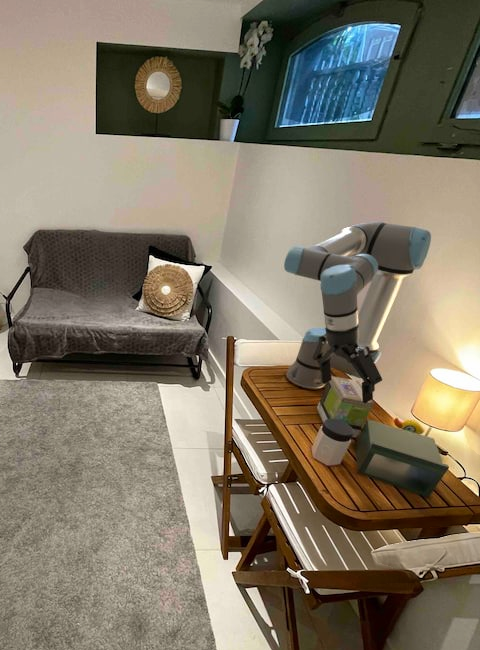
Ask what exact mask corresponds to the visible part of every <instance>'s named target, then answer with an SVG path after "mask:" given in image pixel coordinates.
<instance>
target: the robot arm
mask: <svg viewBox="0 0 480 650" xmlns="http://www.w3.org/2000/svg"><path fill="white" fill-rule="evenodd" d="M431 241H432V234H431V232H430V231H429V230H427V229H424V228H420V227H416V226H410V225H409V226H408V225H402V224H394V223H386V222H383V221H381V222H380V221H370V222H369V221H367V222H361V223H357V224H352V225H350V226H346V227H345V228H342V229H341V230H340V231H338V232H337V234H335V236H332V237H329V238H328V239H326V240H323V241H321V242H319V243H317V244H315V245H313V246H310V247H305V246H298V245H295V246H292V247H291V248H290V250H288V252H287V254H286V256H285V259H284V263H283V268H284V271H285V272H287V273H290V274H293V275H295V276H299V277H304V278H307V279H311V280H314V281H319V282H320V291H321V298H322V306H323V319H324V327H325V328H324V327H314V328H310V329H307V331H305V333H304V336H303V337H302V340H301V343H300V347H299V349H298V350H299V351H298V352H297V355H296V359H295V361H294V362H293V363H292V364H291V365H290V366H289V368H288V369H287V370H286V373H285V378H286V380H287V381H288V382H289V383H290V384H292V385H294V386H296V387H298V388H300V389H303V390H308V391H319V390H322V389H324V388H325V386H326V384H327V383H328V382H329V381H331V380H332V379H331V376H332V370H331V368H332V369H333V370H337V371H339V372H342V373H344V374H346V375H349V376H350V377H351V376H352V377H354V378H358V379H362V382H361V385H362V399H363V403H367V402H368V401H370V400H372V401H373V400H374V392H375V390H376V387H375V385H377V384H379V383H380V382H382V381H383V377H382V375H381V373H380V371H379V370H378V367H377V365H376V364H377V362H378V360H379V359H380V357H381V355H382V352H381V351H380V350H379V347H380V345H379V342H377V340H378V339H379V336H380V334H381V332H382V330H383V327H384V324H385V322H386V320H387V318H388V315H389V313H390V311H391V309H392V307H393V305H394V303H395V300H396V297H397V295H398V293H399V291H400V289H401V287H402V285H403V282H404V280H405V278H407V277H409V276H411V275H412V274H413V273H414V271H415V270H420V269H421V268H422V267H423V266H424V263H425V260H426V258H427V256H428V253H429V250H430V246H431ZM368 284H369V286H368V289H367V291H366V293H365V296H364V298H363V301H362V304H361V306H360V309H358V295H359V294H360V293H361V291H362V290H363V289H365V288H366V286H367V285H368Z"/></svg>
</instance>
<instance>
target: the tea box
mask: <svg viewBox="0 0 480 650" xmlns="http://www.w3.org/2000/svg"><path fill="white" fill-rule="evenodd" d="M331 379H332V380H331V381H329V382H327V383H326V384H325V387H324V390H323V392H322V395H321V397H320V399H319V402H318V405H317V407H316V411H317V412H318V415H319V417H320V419H321V421H322V424H323V423H324V421H325V420H326V419H338V420H341V421H343V422H345V423H347V424H348V425H350V426H351V427H352V429H353V431H354V433H353V435H352V437H351V438H358V436H359V434H360V432H361V430H362V428H363V426H364V424H365V422H366V421H367V419H368V416H369V413H370V412H371V410H372V408H373V406H374V404H375V402H374V401H373V399H372V400H370V401H368V402H367V403H363V399H362V383H360V381H359V380H356V379H351V378H344V377H338V376H333V375H331Z"/></svg>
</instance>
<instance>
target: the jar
mask: <svg viewBox="0 0 480 650" xmlns="http://www.w3.org/2000/svg"><path fill="white" fill-rule="evenodd" d="M318 429H319V430H318V431H317V434H316V436H315V439H314V441H313V443H312V446H311V448H310V450H311V454H312V458H313V459H315V460H317V461H318V462H320V463H322V464H323V465H325V466H326V467H327V466H328V467H329V466H337V465H341V463H342V461H343V459H344V458H345V455H346V453H347V451H348V449H349V448H350V445H351V443H352V438H353V437H352V435H353V433H354V431H353V429H352V427H351V426H350V425H348V424H347V423H345V422H343V421H341V420H338V419H326V420H325V421H324V423H323V422H322V425H321V426H320V427H319V428H318Z"/></svg>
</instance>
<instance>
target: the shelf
mask: <svg viewBox="0 0 480 650" xmlns="http://www.w3.org/2000/svg"><path fill="white" fill-rule="evenodd" d="M354 444H355V446H354V447H355V458H356V472H357V475H361V476H364V477H366V478H370V479H373V480H375V481H378V482H381V483H384V484H387V485H390V486H392V487H395V488H399V489H400V490H401V489H402V490H404V491H408V492H410V493H414V494H415V495H416V494H417V495H419V496H422V497H424V498H430V496H431V494H433V492H434V490H435V489H436V488H437V486H438V485H439V483H440V482H441V480H442V479H443V477H444V476H445V475H446V473H447V472H448V470H449V468H450V466H449V464H446V463H444V462H443V459H442V457H441V453H440V451H439V448H438V446H437V443H436V441H435V438H433V437H430V436H426V435H423V434H417V433H413V432H410V431H406V430H403V429H402V428H398V427H397V426H394V425H393V426H392V425H390V424H385V423H382V422H379V421H376V420H372V419H369V418H366V420H365V422H364V424H363V426H362V427H361V429H360V431H359V433H358V435H357V437H356V440H355V443H354Z"/></svg>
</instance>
